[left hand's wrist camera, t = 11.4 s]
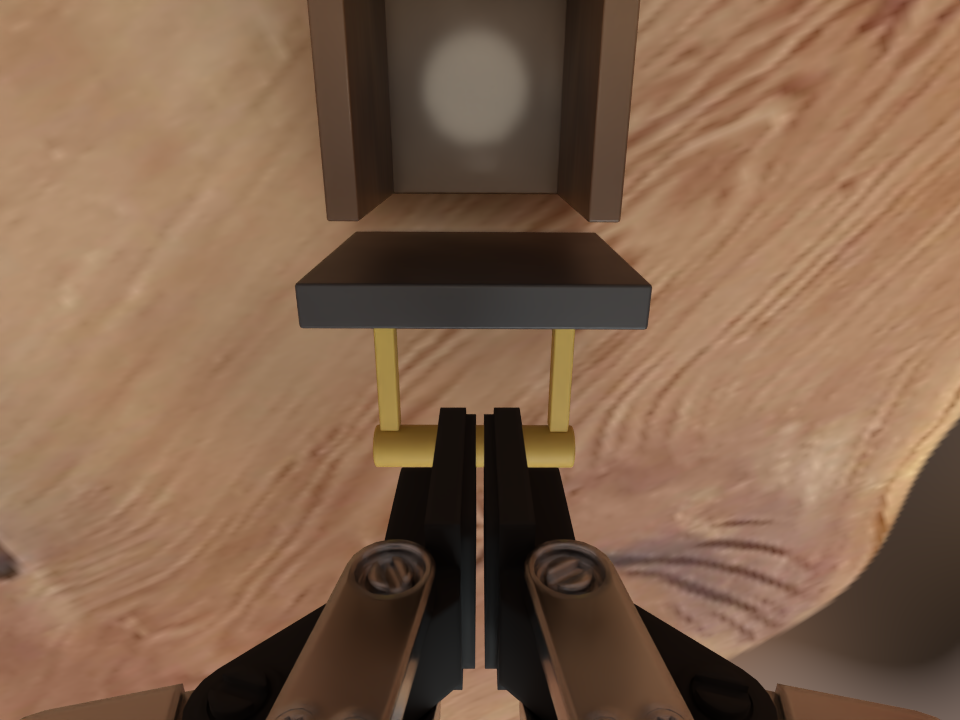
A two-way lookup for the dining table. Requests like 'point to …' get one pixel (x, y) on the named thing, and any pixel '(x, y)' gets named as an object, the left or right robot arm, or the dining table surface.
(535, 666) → the left robot arm
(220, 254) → the dining table surface
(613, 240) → the dining table surface
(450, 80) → the drawer
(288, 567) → the dining table surface
